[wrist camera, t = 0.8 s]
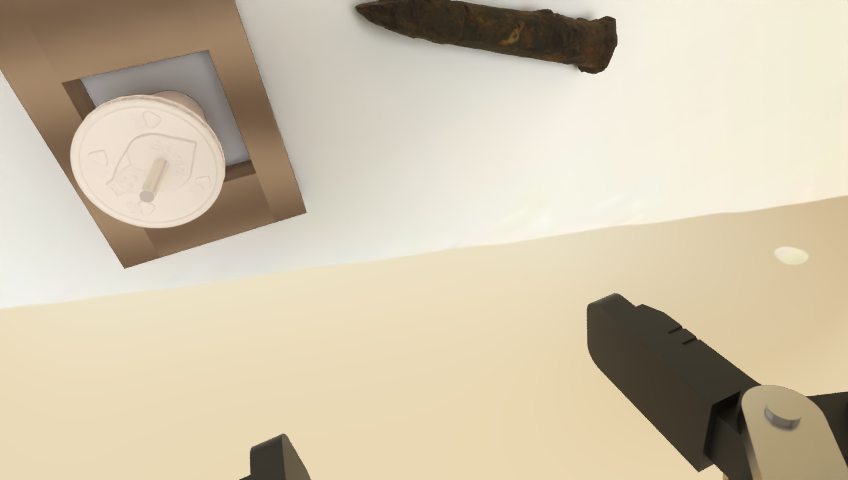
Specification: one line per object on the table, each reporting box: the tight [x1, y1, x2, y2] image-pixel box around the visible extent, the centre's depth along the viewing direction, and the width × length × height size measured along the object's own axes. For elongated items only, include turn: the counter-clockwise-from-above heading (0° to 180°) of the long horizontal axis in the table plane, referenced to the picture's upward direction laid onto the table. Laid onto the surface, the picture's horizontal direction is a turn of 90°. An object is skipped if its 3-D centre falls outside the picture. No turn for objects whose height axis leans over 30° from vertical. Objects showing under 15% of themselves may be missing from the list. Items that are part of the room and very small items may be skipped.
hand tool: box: [356, 0, 617, 74], centre depth 32 cm, size 19×4×5 cm, turn 79°
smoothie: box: [70, 91, 225, 228], centre depth 24 cm, size 6×6×14 cm
